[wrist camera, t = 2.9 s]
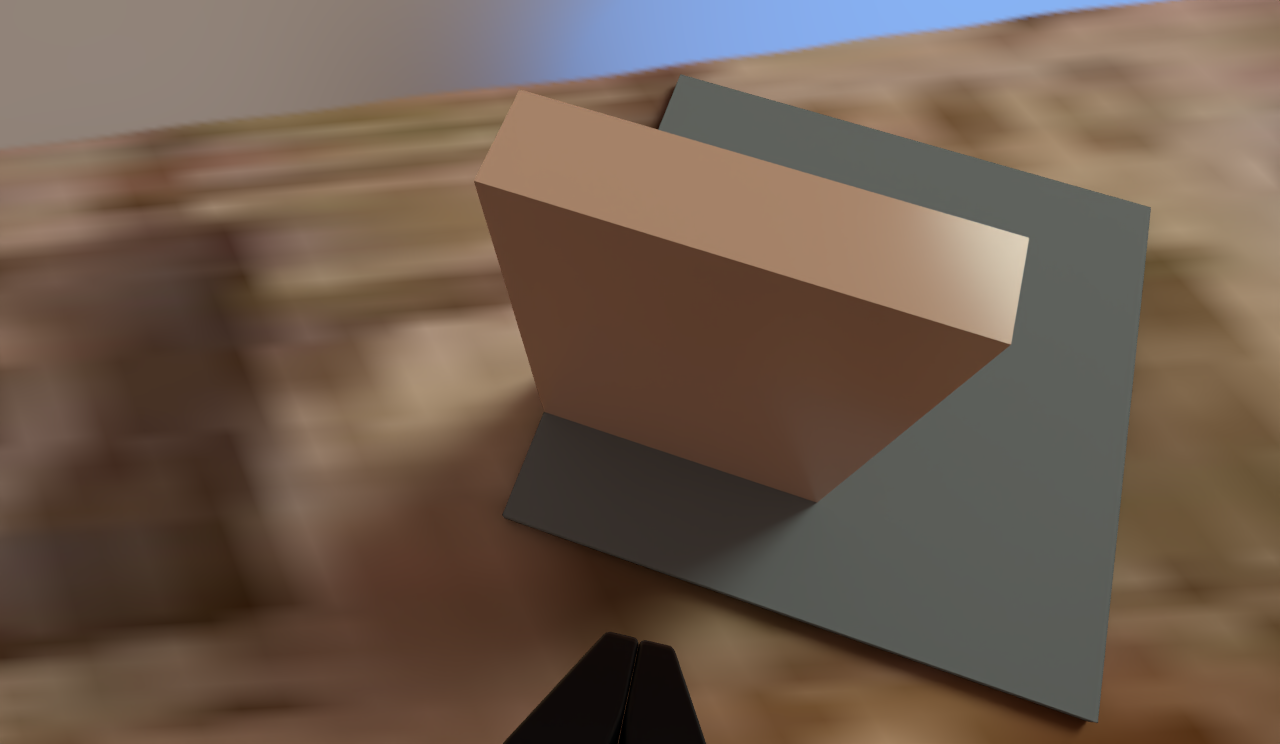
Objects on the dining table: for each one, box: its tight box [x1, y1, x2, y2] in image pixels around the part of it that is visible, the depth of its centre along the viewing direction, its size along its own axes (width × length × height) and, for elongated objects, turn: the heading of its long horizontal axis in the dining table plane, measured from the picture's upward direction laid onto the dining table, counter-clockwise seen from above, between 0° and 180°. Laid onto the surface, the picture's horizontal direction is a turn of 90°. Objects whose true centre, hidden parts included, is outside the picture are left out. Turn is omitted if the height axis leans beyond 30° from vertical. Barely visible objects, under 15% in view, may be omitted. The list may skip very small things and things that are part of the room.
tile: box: [474, 90, 1029, 503], centre depth 16 cm, size 2×8×11 cm, turn 71°
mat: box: [503, 75, 1151, 723], centre depth 23 cm, size 16×16×1 cm
